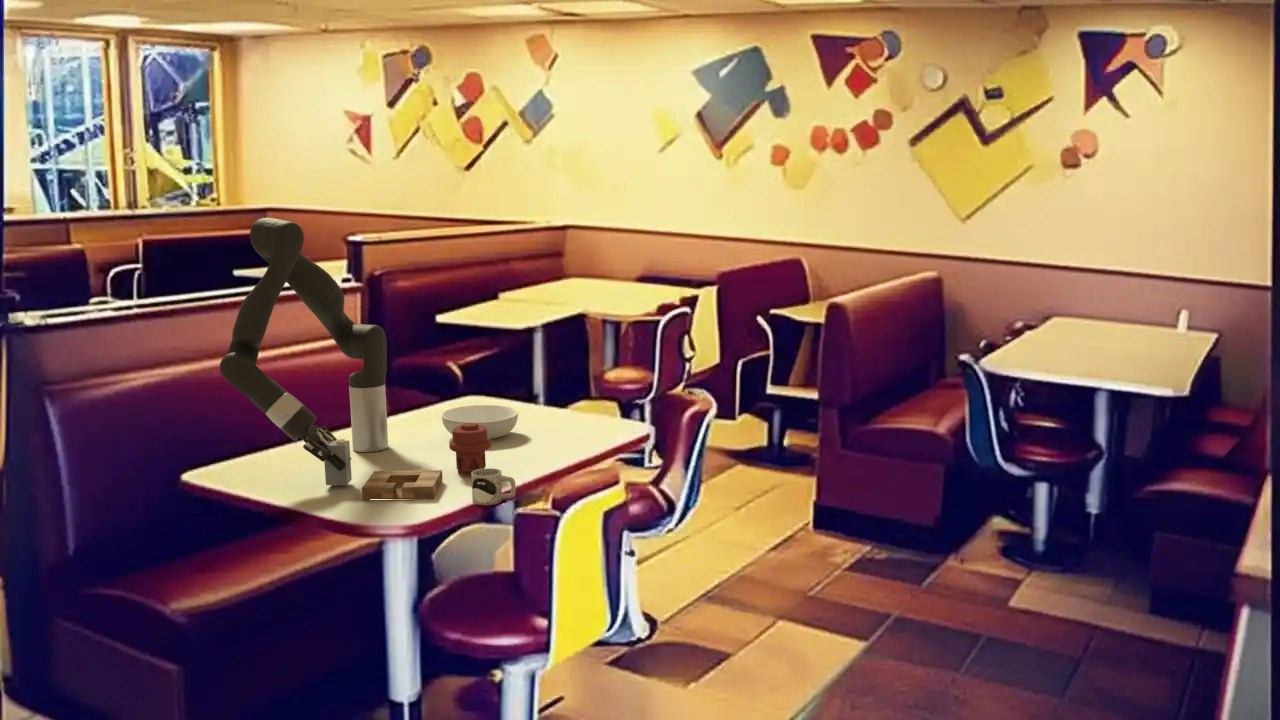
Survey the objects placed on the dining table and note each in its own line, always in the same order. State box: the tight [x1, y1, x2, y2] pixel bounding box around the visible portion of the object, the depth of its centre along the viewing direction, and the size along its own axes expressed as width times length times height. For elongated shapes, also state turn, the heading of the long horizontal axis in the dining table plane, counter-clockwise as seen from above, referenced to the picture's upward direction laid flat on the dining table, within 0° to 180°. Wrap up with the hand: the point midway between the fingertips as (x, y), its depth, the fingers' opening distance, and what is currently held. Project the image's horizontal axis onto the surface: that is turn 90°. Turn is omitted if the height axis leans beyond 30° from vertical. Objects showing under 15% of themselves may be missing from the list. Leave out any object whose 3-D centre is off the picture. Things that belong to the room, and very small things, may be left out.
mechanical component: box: [448, 423, 492, 478], centre depth 284 cm, size 12×10×10 cm
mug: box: [471, 467, 517, 506], centre depth 262 cm, size 10×7×7 cm, turn 80°
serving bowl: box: [441, 404, 519, 440], centre depth 322 cm, size 21×21×7 cm
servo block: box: [324, 438, 353, 486], centre depth 275 cm, size 4×5×10 cm
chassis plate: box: [361, 469, 443, 501], centre depth 271 cm, size 14×16×3 cm
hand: (345, 464), depth 275 cm, fingers closed on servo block, 4 cm apart
